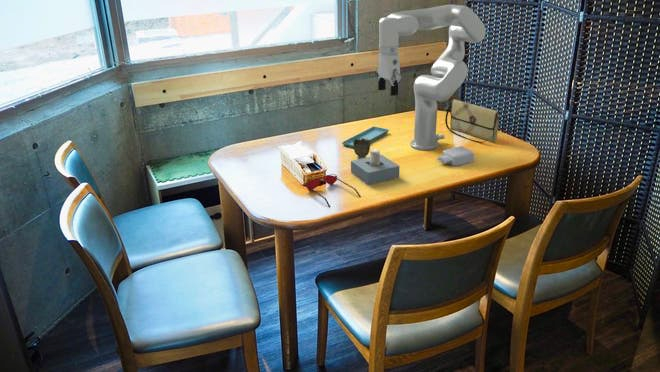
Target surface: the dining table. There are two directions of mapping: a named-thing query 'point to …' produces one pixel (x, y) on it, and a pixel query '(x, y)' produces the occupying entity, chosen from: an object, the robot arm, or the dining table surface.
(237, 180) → the dining table surface
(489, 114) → the clutch purse
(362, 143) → the cup
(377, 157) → the peg
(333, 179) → the glasses
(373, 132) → the shallow long dish
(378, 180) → the socket block
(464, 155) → the charger
